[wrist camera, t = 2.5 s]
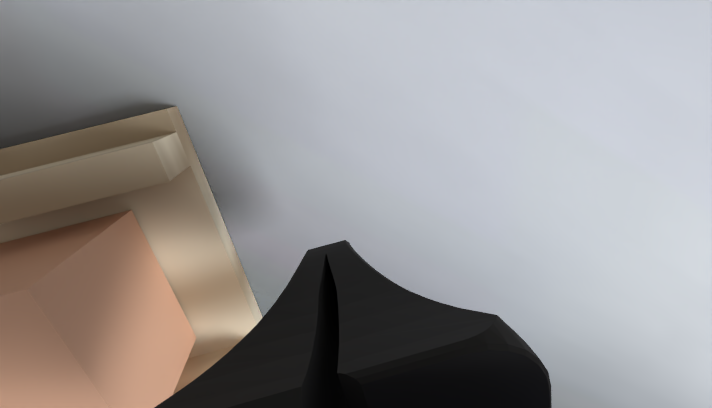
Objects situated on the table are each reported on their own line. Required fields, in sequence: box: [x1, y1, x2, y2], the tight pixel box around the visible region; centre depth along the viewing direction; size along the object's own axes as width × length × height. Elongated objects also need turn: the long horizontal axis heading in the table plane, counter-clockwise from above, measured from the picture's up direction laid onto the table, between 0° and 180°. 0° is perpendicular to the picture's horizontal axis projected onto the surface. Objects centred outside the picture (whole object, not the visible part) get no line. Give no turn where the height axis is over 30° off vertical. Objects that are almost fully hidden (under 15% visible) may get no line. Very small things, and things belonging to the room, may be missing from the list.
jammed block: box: [0, 210, 196, 408], centre depth 11 cm, size 6×5×5 cm
